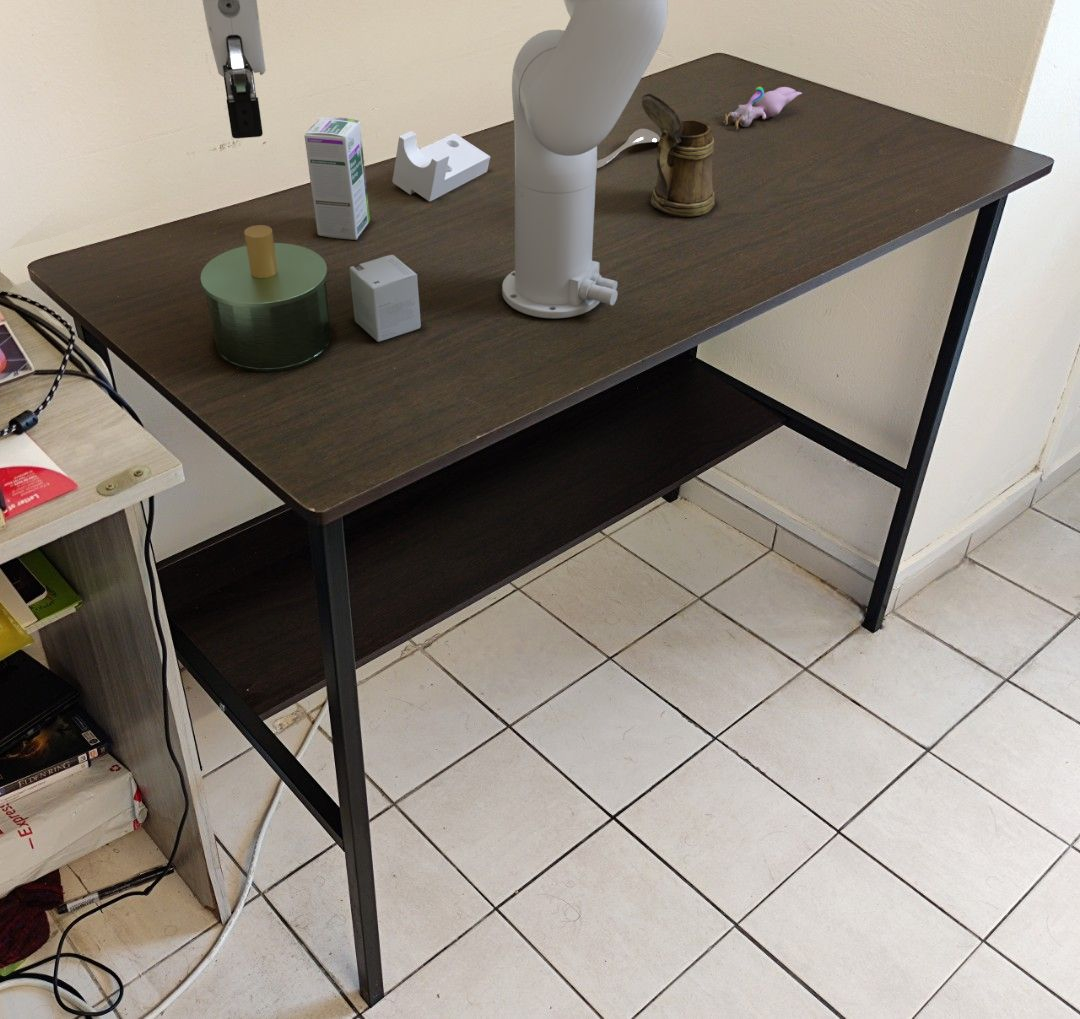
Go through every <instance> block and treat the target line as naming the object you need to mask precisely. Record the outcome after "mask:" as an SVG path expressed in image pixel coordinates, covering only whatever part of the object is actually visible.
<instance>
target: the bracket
mask: <svg viewBox="0 0 1080 1019" xmlns="http://www.w3.org/2000/svg"><path fill="white" fill-rule="evenodd" d="M490 161H491V156H490V155H489V154H488V153H486V152H484V151H483V150H482V149H480V148H478V147H476V146H475V145H474V144H472V143H470V142H469V141H467V140H466V139H465V138H463V137H461V136H460V135H458V134H457V133H455V132H454V133H451V134H449V135H447V136H445V137H443V138H441V139H438V140H437V141H434V142H432V143H430V144H428V145H426V146H424V147H421V148H419V145H418V141H417V133H416V132H414V131H413V130H410V131H408V132H405V133H404V134H402V135H399V136H398V141H397V148H396V154H395V161H394V166H393V173H392V182H391V183H392V184H394V185H396V187H398V188H400V189H401V190H403V191H404V192H405V193H407V194H409V195H410V196H411V195H412V194H414V193H416V194H418V195H419V196H421V197H422V198H423V199H425V200H426V201H428V202H429V203H430V202H432V201H434V200H436V199H438V198H440V197H442V196H444V195H445V194H447V193H449V192H451V191H453V190H455V189H457V188H459V187H461V186H463V185H464V184H467V183H469V182H471V181H472V180H474V179H476V178H478V177H480V176H482V175H483V174H485V173H487V172H488V170H489V167H490V166H489V165H490Z"/></svg>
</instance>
